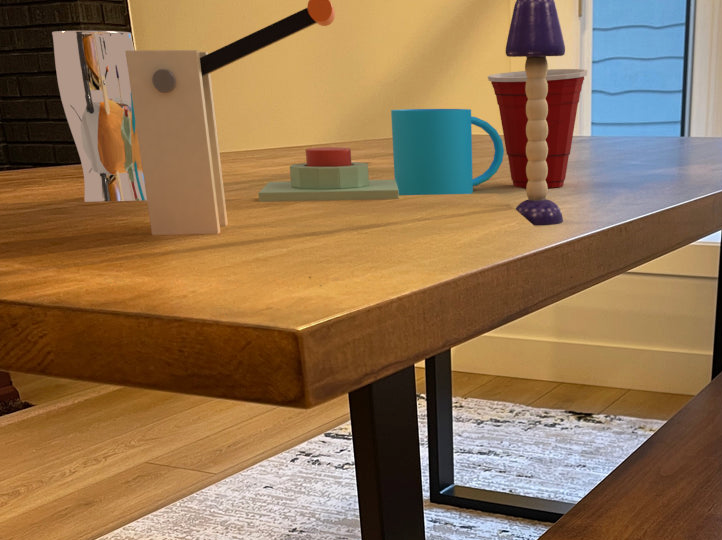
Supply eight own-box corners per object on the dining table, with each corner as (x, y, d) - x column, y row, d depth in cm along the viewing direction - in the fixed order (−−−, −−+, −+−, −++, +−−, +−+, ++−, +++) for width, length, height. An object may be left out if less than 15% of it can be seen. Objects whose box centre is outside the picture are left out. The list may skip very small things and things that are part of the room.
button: (305, 171, 88) (304, 150, 88) (308, 167, 92) (306, 147, 91) (351, 170, 89) (350, 149, 88) (352, 167, 92) (350, 147, 92)
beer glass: (165, 210, 93) (140, 31, 87) (86, 215, 90) (55, 29, 84) (149, 203, 98) (125, 34, 92) (74, 207, 95) (44, 33, 89)
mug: (408, 198, 100) (404, 111, 97) (386, 191, 107) (381, 109, 104) (518, 193, 105) (517, 109, 101) (490, 186, 111) (489, 107, 108)
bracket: (278, 238, 75) (260, 52, 70) (267, 258, 67) (245, 49, 62) (127, 242, 74) (98, 53, 69) (97, 262, 66) (61, 49, 61)
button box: (260, 218, 87) (255, 170, 85) (271, 205, 96) (266, 161, 94) (399, 215, 88) (397, 168, 86) (396, 203, 97) (394, 159, 95)
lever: (341, 26, 69) (325, -10, 68) (339, 22, 64) (322, -17, 63) (170, 107, 69) (151, 72, 68) (154, 108, 64) (134, 71, 63)
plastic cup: (469, 187, 111) (466, 69, 106) (526, 179, 119) (526, 69, 114) (549, 193, 105) (550, 68, 100) (604, 184, 113) (607, 68, 108)
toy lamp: (564, 226, 81) (567, -5, 74) (507, 227, 81) (505, -5, 74) (561, 219, 85) (564, -1, 78) (506, 219, 85) (505, 0, 78)
